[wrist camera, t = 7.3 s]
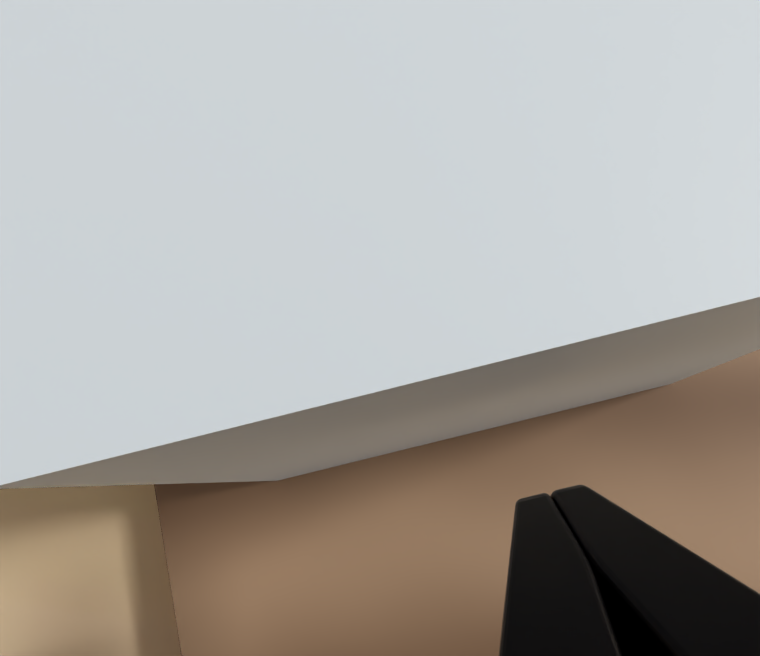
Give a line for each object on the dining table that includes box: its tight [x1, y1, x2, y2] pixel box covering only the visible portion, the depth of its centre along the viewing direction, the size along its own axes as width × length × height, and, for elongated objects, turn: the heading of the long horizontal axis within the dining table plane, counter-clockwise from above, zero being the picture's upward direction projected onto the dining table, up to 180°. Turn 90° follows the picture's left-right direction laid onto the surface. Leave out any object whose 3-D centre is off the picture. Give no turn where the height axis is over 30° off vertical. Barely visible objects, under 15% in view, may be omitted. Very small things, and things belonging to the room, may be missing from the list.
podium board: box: [154, 349, 760, 656], centre depth 16 cm, size 20×15×1 cm
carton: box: [0, 0, 760, 489], centre depth 12 cm, size 9×9×10 cm
